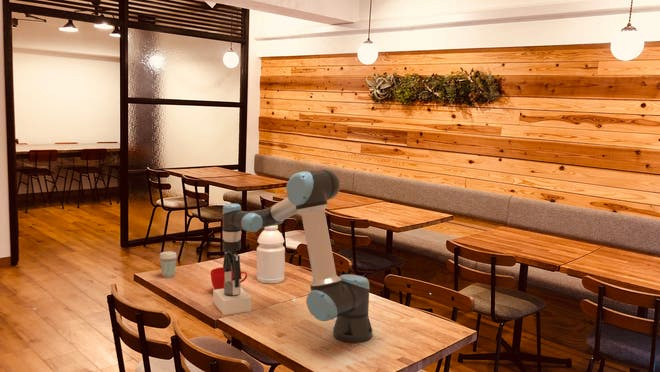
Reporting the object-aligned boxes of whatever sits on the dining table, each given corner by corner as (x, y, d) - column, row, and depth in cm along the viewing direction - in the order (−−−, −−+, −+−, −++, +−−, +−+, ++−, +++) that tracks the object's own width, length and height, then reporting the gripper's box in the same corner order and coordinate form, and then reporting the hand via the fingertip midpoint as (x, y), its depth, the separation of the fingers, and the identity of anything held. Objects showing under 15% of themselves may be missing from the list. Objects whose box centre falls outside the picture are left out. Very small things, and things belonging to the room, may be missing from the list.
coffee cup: (159, 274, 292) (159, 251, 291) (176, 273, 295) (176, 250, 293) (159, 279, 284) (159, 255, 282) (177, 278, 287) (177, 254, 285)
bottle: (259, 275, 295) (259, 221, 291) (286, 276, 294) (286, 222, 290) (254, 283, 281) (254, 227, 277) (282, 284, 280) (283, 228, 276)
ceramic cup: (250, 293, 266) (250, 272, 265) (213, 297, 260) (213, 276, 258) (243, 285, 278) (243, 265, 277) (208, 288, 272) (208, 268, 270)
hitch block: (251, 311, 244) (251, 297, 243) (223, 315, 239) (223, 301, 238) (239, 299, 258) (239, 286, 257) (213, 303, 253) (213, 289, 252)
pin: (242, 307, 247) (242, 284, 245) (226, 309, 244) (226, 286, 242) (237, 302, 253) (237, 280, 252) (221, 304, 250) (221, 282, 248)
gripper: (249, 245, 236) (249, 297, 239) (232, 233, 256) (232, 281, 259) (231, 247, 232) (231, 299, 236) (215, 235, 253) (215, 283, 256)
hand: (232, 290), depth 248 cm, fingers open, 11 cm apart
